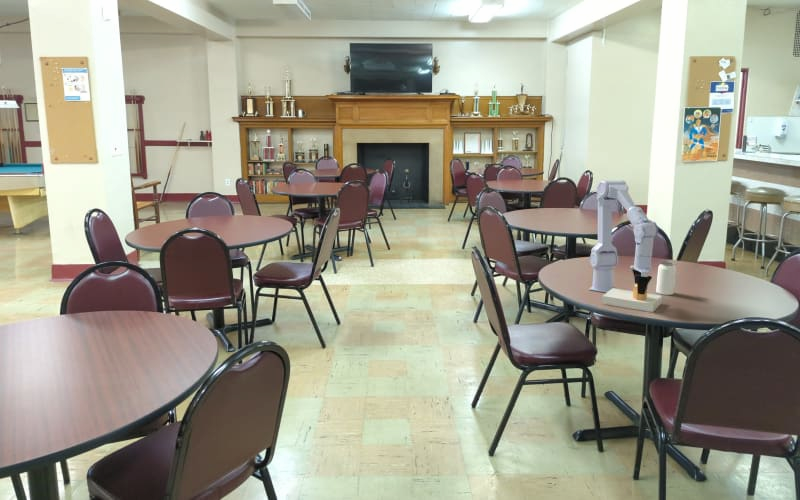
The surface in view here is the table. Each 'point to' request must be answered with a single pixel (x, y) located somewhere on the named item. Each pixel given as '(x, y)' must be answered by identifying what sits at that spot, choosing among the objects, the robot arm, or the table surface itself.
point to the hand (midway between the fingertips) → (639, 291)
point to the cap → (639, 296)
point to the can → (666, 278)
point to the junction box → (631, 300)
